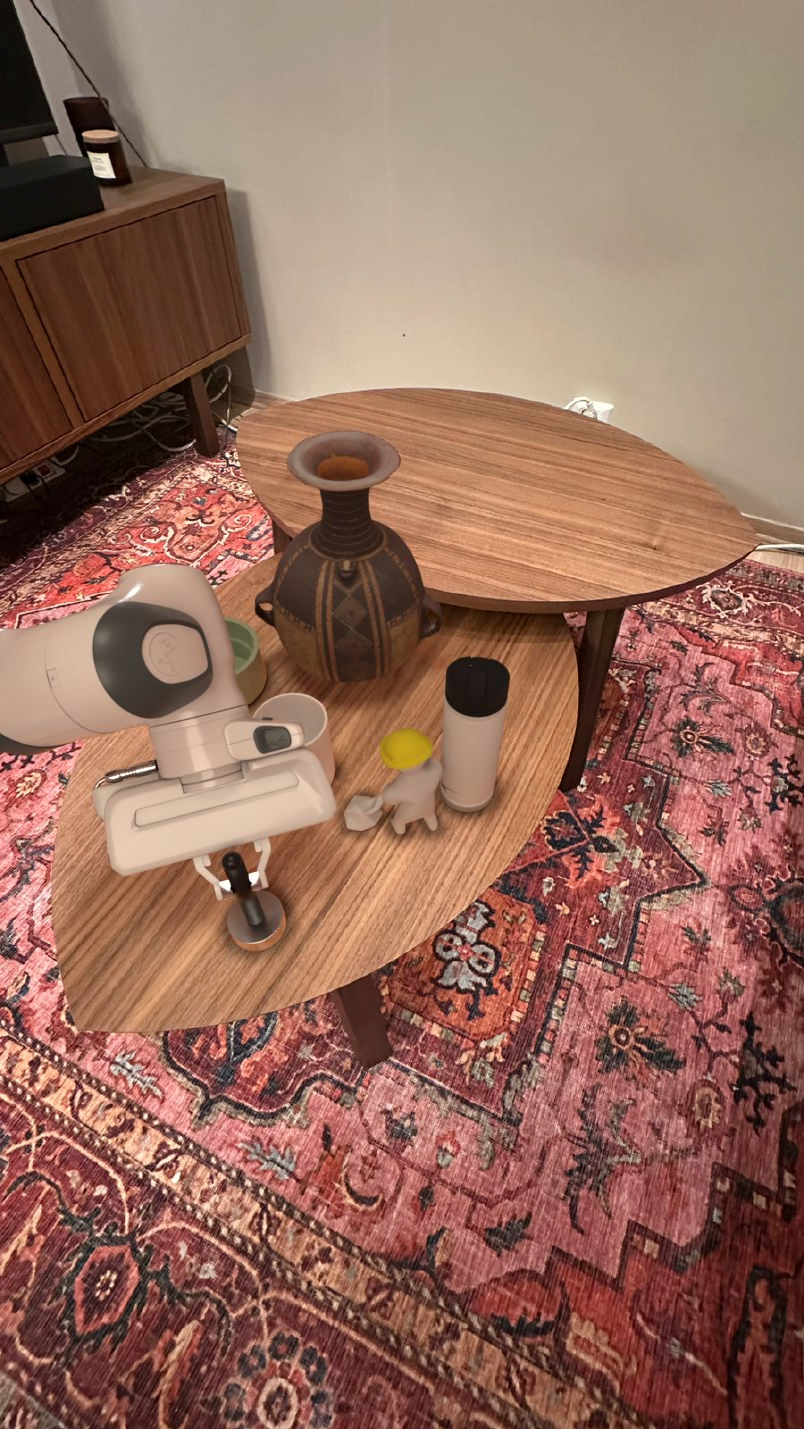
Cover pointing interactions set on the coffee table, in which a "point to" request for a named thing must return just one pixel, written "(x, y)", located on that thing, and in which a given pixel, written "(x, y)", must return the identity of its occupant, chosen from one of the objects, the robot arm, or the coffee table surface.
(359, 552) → the vase
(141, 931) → the coffee table surface
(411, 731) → the figurine
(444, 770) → the travel mug
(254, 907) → the meat pounder
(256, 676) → the bowl
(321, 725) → the cup
